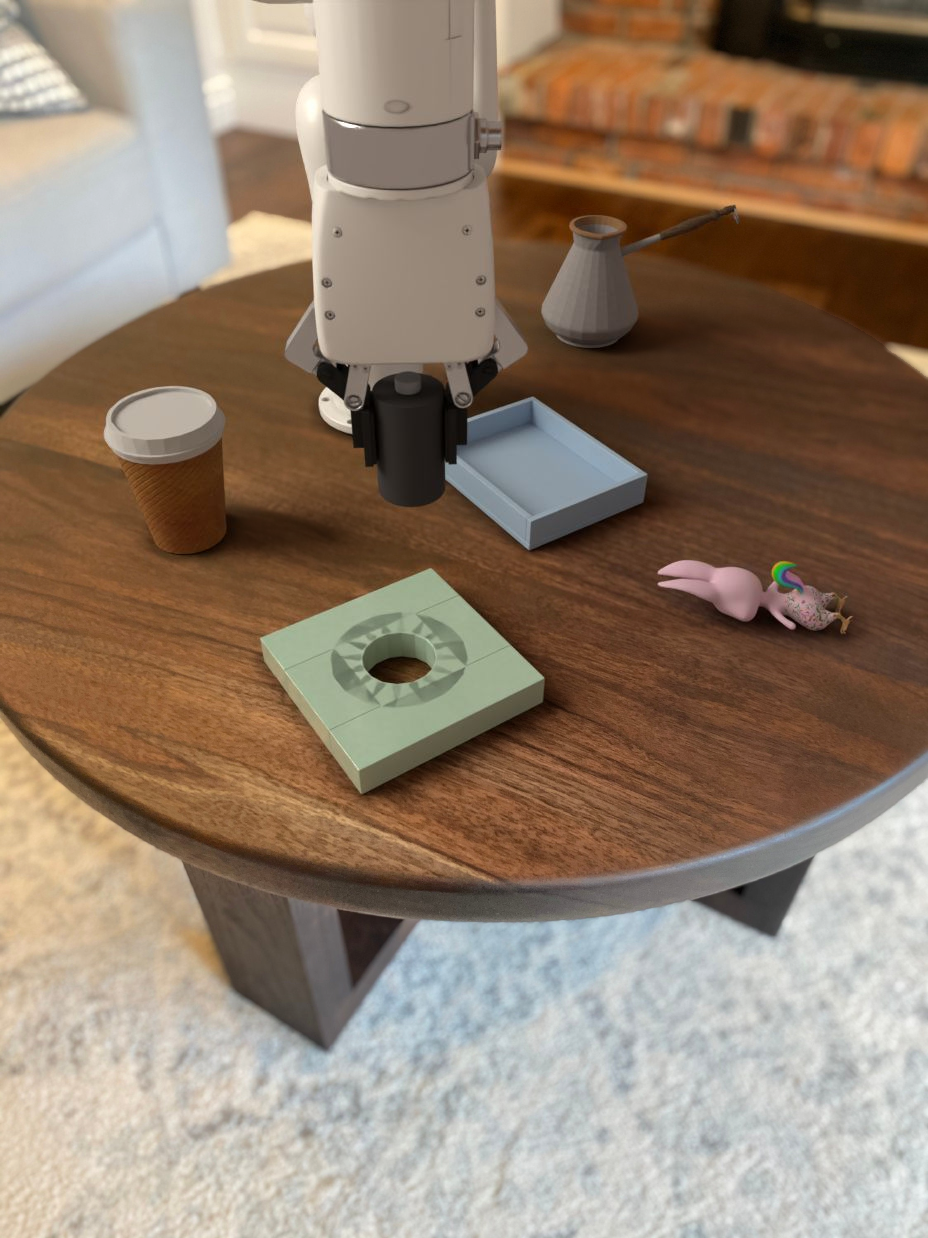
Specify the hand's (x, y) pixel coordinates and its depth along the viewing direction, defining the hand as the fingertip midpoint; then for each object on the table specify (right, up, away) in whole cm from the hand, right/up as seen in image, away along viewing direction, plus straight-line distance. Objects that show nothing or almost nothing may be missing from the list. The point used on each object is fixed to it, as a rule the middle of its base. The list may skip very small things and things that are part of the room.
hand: (410, 451), depth 60 cm
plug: (0, -2, +2) cm, 3 cm away
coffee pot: (+23, +23, +53) cm, 63 cm away
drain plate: (-1, -15, +9) cm, 18 cm away
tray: (+10, +2, +29) cm, 31 cm away
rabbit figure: (+26, -10, +15) cm, 32 cm away
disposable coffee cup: (-21, -3, +23) cm, 31 cm away
